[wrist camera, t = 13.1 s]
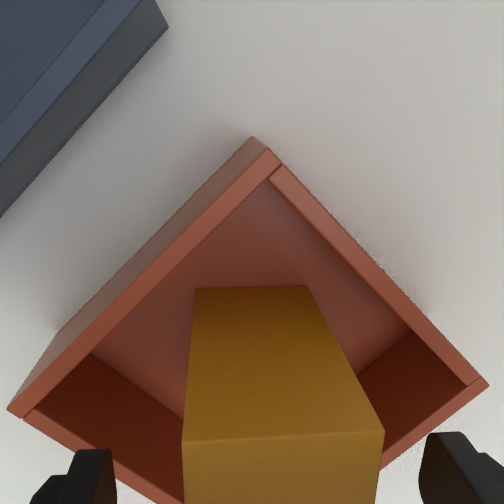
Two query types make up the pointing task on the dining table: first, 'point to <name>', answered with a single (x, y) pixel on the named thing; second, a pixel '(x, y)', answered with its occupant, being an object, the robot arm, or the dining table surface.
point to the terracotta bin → (231, 276)
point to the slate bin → (61, 74)
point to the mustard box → (274, 405)
